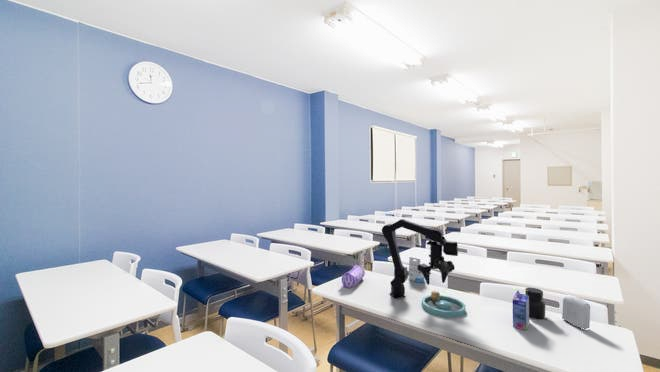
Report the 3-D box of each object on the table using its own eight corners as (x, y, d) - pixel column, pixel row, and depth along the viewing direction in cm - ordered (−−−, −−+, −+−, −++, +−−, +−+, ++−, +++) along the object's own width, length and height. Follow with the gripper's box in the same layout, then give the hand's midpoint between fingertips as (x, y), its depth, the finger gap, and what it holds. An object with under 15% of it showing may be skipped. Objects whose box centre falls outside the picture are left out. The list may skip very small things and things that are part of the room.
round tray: (439, 319, 136) (439, 314, 136) (414, 302, 155) (414, 297, 155) (474, 313, 142) (474, 308, 142) (446, 297, 161) (446, 293, 161)
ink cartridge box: (514, 318, 138) (515, 287, 137) (529, 322, 134) (530, 290, 134) (511, 326, 130) (512, 293, 129) (526, 330, 126) (527, 297, 126)
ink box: (424, 281, 186) (425, 258, 185) (420, 283, 183) (420, 259, 182) (413, 278, 192) (413, 255, 192) (408, 279, 189) (408, 256, 189)
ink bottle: (544, 313, 143) (545, 288, 142) (547, 321, 135) (548, 295, 134) (520, 309, 147) (521, 285, 147) (522, 316, 139) (522, 291, 139)
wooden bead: (434, 303, 152) (434, 294, 152) (429, 300, 155) (429, 291, 155) (441, 302, 153) (441, 293, 153) (436, 299, 157) (436, 290, 157)
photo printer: (591, 330, 127) (592, 301, 127) (583, 330, 127) (584, 302, 126) (568, 318, 138) (568, 292, 137) (560, 319, 137) (561, 292, 136)
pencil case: (351, 276, 195) (351, 262, 195) (365, 278, 191) (365, 263, 191) (340, 288, 174) (340, 272, 174) (355, 290, 171) (356, 274, 171)
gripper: (430, 259, 143) (430, 291, 143) (462, 256, 149) (461, 287, 149) (417, 253, 154) (416, 283, 154) (447, 251, 159) (446, 279, 160)
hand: (435, 283), depth 154 cm, fingers open, 9 cm apart
